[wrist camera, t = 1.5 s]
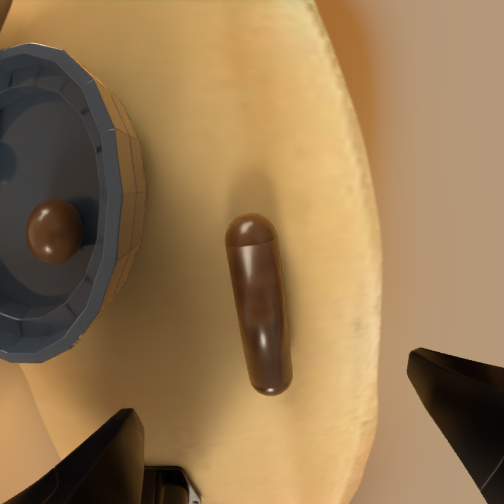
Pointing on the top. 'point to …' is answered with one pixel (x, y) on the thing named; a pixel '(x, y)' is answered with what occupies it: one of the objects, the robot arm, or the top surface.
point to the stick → (260, 302)
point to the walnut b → (54, 231)
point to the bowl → (66, 188)
